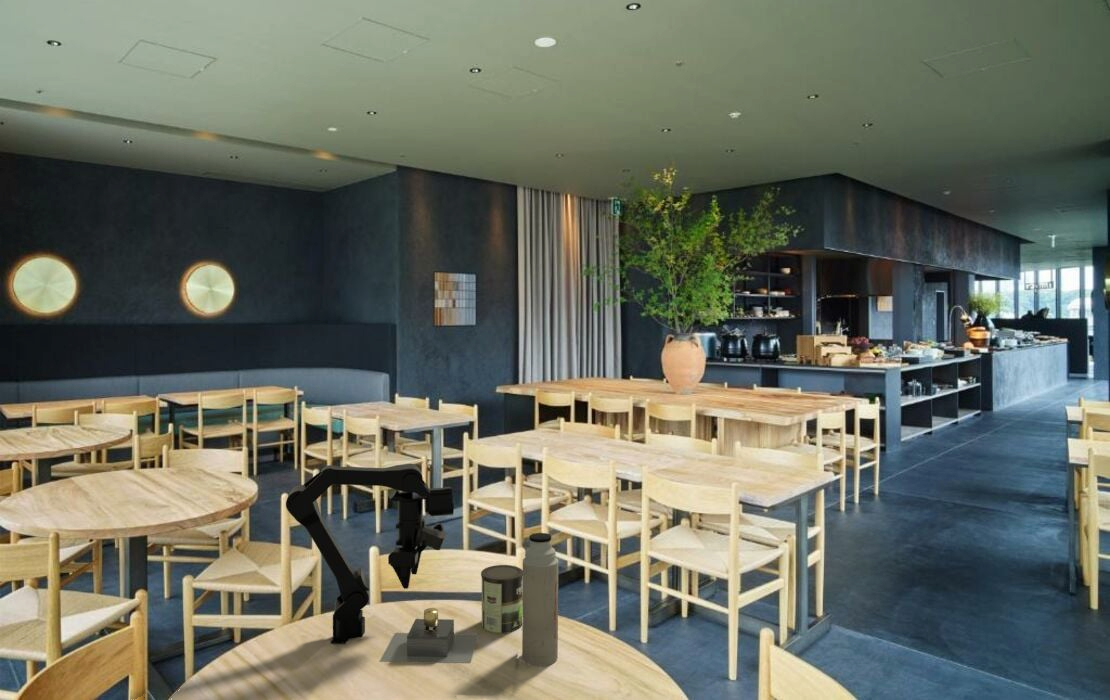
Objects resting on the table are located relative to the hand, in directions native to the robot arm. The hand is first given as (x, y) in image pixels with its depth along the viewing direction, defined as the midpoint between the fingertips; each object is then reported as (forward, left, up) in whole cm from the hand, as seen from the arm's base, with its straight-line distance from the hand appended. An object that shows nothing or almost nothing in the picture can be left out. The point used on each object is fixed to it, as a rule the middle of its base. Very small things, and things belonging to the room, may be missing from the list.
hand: (410, 581), depth 173 cm
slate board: (+7, -10, -12) cm, 17 cm away
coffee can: (+22, +3, -13) cm, 26 cm away
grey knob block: (+7, -10, -12) cm, 17 cm away
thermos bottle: (+32, -12, -13) cm, 36 cm away
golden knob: (+7, -10, -11) cm, 17 cm away
